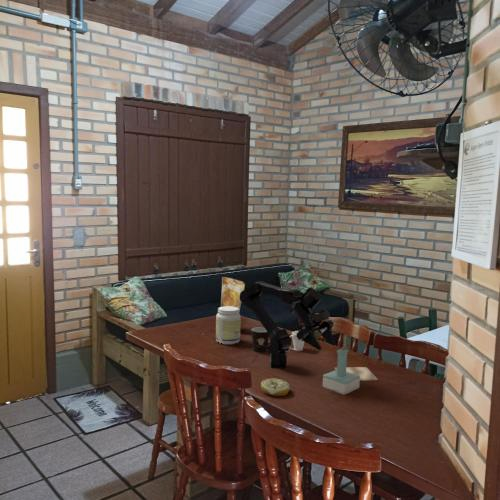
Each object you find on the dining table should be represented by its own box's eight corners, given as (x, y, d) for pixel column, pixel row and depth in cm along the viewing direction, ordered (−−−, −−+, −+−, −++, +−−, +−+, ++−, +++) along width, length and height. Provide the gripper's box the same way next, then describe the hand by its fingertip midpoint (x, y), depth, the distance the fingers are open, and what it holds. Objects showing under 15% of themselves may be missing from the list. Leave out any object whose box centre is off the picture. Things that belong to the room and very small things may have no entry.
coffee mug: (248, 351, 226) (248, 330, 225) (254, 346, 234) (255, 326, 233) (271, 355, 222) (272, 334, 221) (277, 350, 230) (278, 329, 229)
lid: (322, 379, 185) (324, 349, 184) (337, 373, 192) (339, 344, 191) (344, 387, 178) (346, 356, 177) (359, 380, 185) (361, 350, 184)
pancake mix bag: (225, 324, 273) (226, 275, 270) (244, 332, 257) (246, 281, 254) (215, 326, 269) (216, 276, 266) (234, 334, 254) (235, 282, 251)
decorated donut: (272, 399, 173) (272, 389, 172) (255, 389, 182) (255, 380, 181) (294, 393, 179) (295, 383, 178) (277, 384, 188) (277, 374, 187)
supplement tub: (244, 340, 243) (245, 308, 241) (230, 346, 233) (231, 312, 231) (224, 336, 250) (225, 304, 248) (210, 342, 239) (211, 308, 238)
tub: (322, 387, 185) (322, 377, 185) (337, 380, 193) (338, 371, 192) (344, 395, 178) (345, 384, 178) (359, 388, 186) (359, 378, 185)
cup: (308, 350, 230) (309, 334, 229) (289, 352, 226) (290, 336, 225) (301, 346, 236) (301, 330, 236) (283, 348, 232) (283, 332, 232)
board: (343, 380, 192) (343, 379, 192) (334, 368, 206) (334, 367, 206) (377, 380, 194) (377, 379, 194) (366, 368, 208) (366, 367, 207)
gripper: (303, 306, 185) (326, 340, 179) (330, 300, 199) (353, 331, 192) (286, 323, 191) (308, 356, 185) (314, 316, 205) (335, 346, 198)
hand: (327, 347), depth 190 cm, fingers open, 9 cm apart
